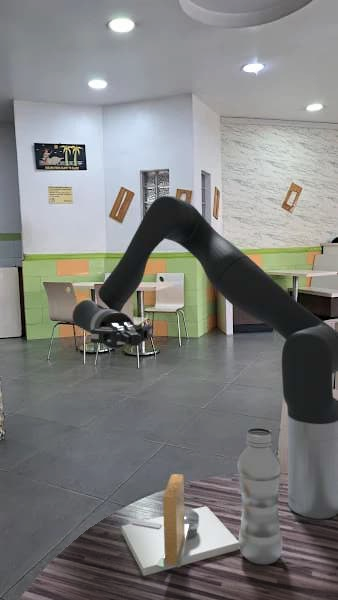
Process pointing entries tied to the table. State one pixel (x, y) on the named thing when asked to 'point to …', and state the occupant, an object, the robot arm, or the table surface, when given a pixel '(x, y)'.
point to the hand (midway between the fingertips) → (135, 340)
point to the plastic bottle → (259, 499)
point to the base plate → (200, 542)
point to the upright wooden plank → (176, 521)
